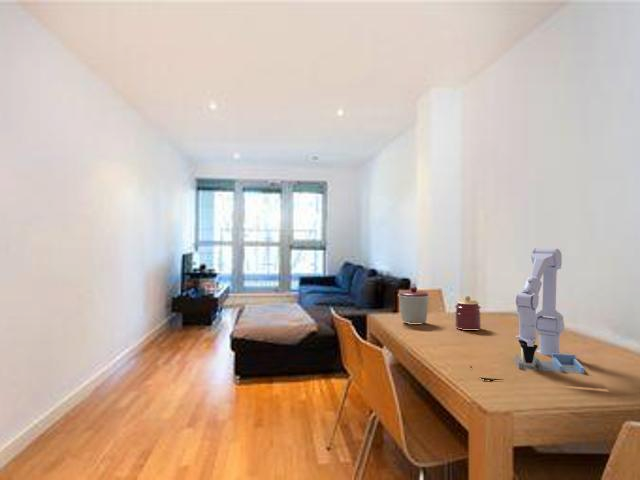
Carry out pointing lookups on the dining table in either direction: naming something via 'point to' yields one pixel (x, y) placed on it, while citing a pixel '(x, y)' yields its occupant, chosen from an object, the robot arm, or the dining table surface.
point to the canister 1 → (414, 305)
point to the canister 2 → (468, 314)
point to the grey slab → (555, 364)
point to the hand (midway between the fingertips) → (527, 361)
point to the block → (524, 360)
